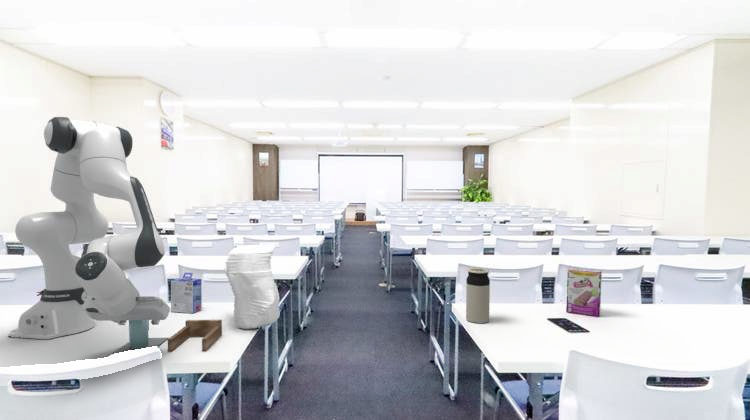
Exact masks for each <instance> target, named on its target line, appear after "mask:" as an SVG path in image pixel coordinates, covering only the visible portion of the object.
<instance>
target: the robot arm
mask: <svg viewBox="0 0 750 420" xmlns="http://www.w3.org/2000/svg"><path fill="white" fill-rule="evenodd" d="M43 138H44V141H45V142H44V143H45V145H46V147H47V148H49V150H51V151H53V152H55V153H57V155H56V159H55V160H54V161H55V162H54V168H53V170H52V171H53V172H52V177H51V183H50V184H51V185H50V188H49V189H50V192H51V194H52V195H53V197H54V198H56V199H57V200H59V201H60V202H63V203H64V204H65V210H63V211H43V212H38V213H32V214H28V215H24V216H22V217H21V218H20V219H19V220H18V221H17V222H16V226H15V230H14V231H15V237H16V239H17V240H18V242H20V244H22V245H23V246H25V247H26V248H28V249H30V250H32V251H33V252H34V253H35V254H36V255H37V256H38V257H39V259H40V261H41V263H42V265H43V266H42V267H43V271H44V282H45V285H44V286H45V288H44V289H42V290H41V291H38V292H37V291H36V297H38V296H40V298H39V301H37V302H36V303H35V304H34V305H32V306H31V307H30V308H28V309H27V310H26V311H24V312H23V313H21V315H20V316H19V320H18V324H17V325H18V326H17V327H16V328H14V329H13V330H10V332H9V333H8V336H11V337H10V338H19V337H20V339H21V338H22V339H34V340H35V339H36V340H38V339H39V340H50V339H55V338H60V337H63V336H68V335H75V334H77V333H78V334H79V333H81V332H85V331H88V330H89V329H92V328H94V327H95V326H96V324H95V321H97V322H98V321H99V322H100V321H110V322H113V323H116V324H118V326H126V324H127V322H128V321H129V320H149V321H150V323H151V325H153V326H158V325H159V324H160V321H165V320H166V319H167V318H168V317H169V313H170V312H171V306H169V305H168V303H167V302H166V301H164V300H163V299H162V298H161V297H158V296H153V295H152V296H150V295H149V296H147V295H145V296H142V295H140V292H139V291H138V289H137V287H135V285H134V284H133V283H132V281H131V279H129V278H127V276H126V273H125V272H124V271H128V270H133V269H139V268H147V267H156V265H157V264H158V263H159V262H160V261H161V260H162V259H163V258H164V256H165V243H164V241H163V239H162V237H161V234H160V232H159V229H158V228H157V225H156V224H157V223H156V221H155V218H154V214H153V212H152V208H151V206H150V202H149V199H148V197H147V194H146V191H145V189H144V187H143V184H142V183H141V181H140V180H139V179H138V178H137V177H135V176H132V175H131V174H130V173H129V170H128V166H127V158H128V157H129V156H130V155H131V153H132V150H133V137H132V134H131V132H130V131H129V130H127V129H125V128H122V127H120V126H113V125H110V124H106V123H102V122H99V121H93V120H92V121H90V120H83V119H76V118H69V117H66V116H54V117H52V118H50V119H49V120H48V122H47V124H46V125H45V127H44V131H43ZM95 194H96V195H98V196H101V197H105V198H110V199H116V200H123V201H124V202H125V201H126V202H128V203H129V205H130V208H131V212H132V215H133V218H134V221H135V224H136V229H135V230H134V231H133V232H128V233H122V234H117V235H109V236H106V235H107V233H108V230H109V222H108V219H107V217H106V216H105V215H104V214H103V213H102V212H100V210H99V209H98V208H97V206H96V203H95V199H94V195H95ZM76 244H86V246H85V248H84V249H83V251H82V253H81V256H78V255H75V254H73V253H72V252H71V249H70V245H76ZM94 320H95V321H94Z"/></svg>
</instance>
